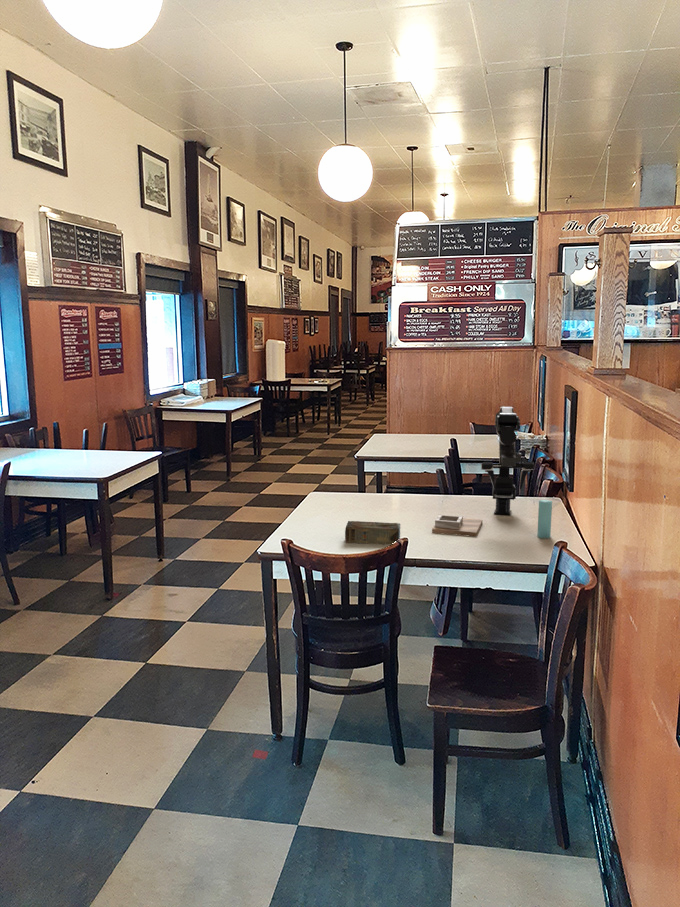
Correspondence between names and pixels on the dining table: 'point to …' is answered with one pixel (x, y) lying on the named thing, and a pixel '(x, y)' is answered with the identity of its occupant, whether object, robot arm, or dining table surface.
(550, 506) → the post
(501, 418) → the robot arm
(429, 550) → the dining table surface
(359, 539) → the beverage carton
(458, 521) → the base board
